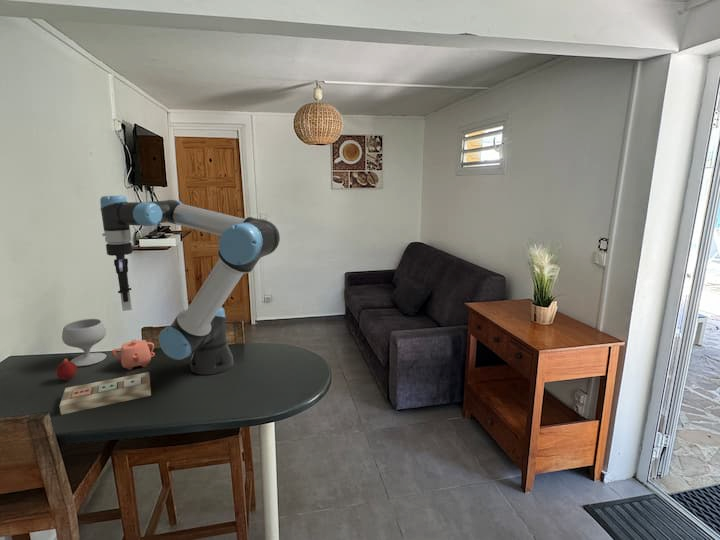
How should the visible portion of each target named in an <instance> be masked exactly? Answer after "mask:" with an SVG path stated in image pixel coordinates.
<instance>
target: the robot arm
mask: <svg viewBox="0 0 720 540" xmlns="http://www.w3.org/2000/svg"><path fill="white" fill-rule="evenodd" d="M99 199H100V200H99V201H100V202H99V203H100V212H101V219H102V225H103V233H102V234H101V235H102V236H103V237H104V241H105V242H106V244H105V249H106V255H107V256H112V257H114V256H115V258H116V259H114V260H113V263H114V268H115V273H116V274H117V280H118V286H119V290H118V291H117V293H118V294H119V295H120V301H121V308H122V312H125V311H126V312H127V311H132V310H133V309H132V300H131V294H130V293H131V291H132V287H130V284H129V277H128V272H129V267H128V265H129V260H128V259H129V258H126V256H127V255H131V254H133V245H132V244H133V243H132V242H131V241H132V234H131V228H130V227H131V226H137V227H138V226H139V227H140V226H141V227H153V226H154V227H155V226H157V225H159V224H165V223H170V224H172V225H176V226H177V225H178V226H181V227H184V228H189V229H193V230H198V231H199V232H200V231H201V232H204V233H205V232H206V233H209V234H213V235H217V236H220V237H219V239H218V246H219V249H218V251H217V256H218V257H217V258H219V259H218V260H217V262H216V264H214V266H213V268H212V269H211V271H210V273H209V275H207V277H206V279H205V280H204V282H203V284H202V285H201V286H200V289H199V290H198V291H197V293H196V295H195V297H194V298H193V299H192V301H191V303H189V305H188V307H187V309H184V310H181V311H180V312H179V313H178V314H177V315H176V317H175V319H174V320H173V321H172V323H171V324H170V325H169V326H166V327H164V328H163V329H162V330H161V331H160V333H159V335H158V343H159V345H160V349H161V350H162V352H163V353H164V354H165V355H166V356H167V357H168V358H170V359H173V360H174V361H175V360H178V361H179V360H184V359H186V358H189V357H190V356H191V355H192V356H191V360H190V369H191V370H190V371H191V372H192V373H194V374H196V375H204V376H205V375H214V374H215V375H216V374H219V373H222V372H225V371H227V370H229V369H231V368H232V367H233V366H234V356H233V354H232V351H231V349H230V347H229V345H228V337H227V323H226V312H225V309H224V307H222V306H223V305H224V304H225V302H226V301H227V299H228V297H230V294H231V293H232V292H233V290H234V289H235V287H236V285H237V284H238V283H239V281H240V280H241V278H242V277H243V275H244V274H249V273H251V272H252V270H253V269H254V268H255V267H256V265H257V264H258V262H259V261H260V259H261V258H263V257H266V256H268V255H270V254H273V252H275V251H276V249H277V248H278V246H279V244H280V240H281V239H280V231H279V229H278V228H277V227H276V225H275V224H273V222H271V221H269V220H266V219H260V218H255V217H251V216H247V217H245V218H242V217H237V216H234V215H230V214H225V213H221V212H218V211H213V210H209V209H205V208H201V207H196V206H193V205H187V204H184V203H182V202H181V201H180V200H177V199H168V200H156V201H154V200H153V201H139V202H138V201H136V202H135V201H134V202H133V201H130V202H129V201H128V200H127V197H126V196H125V195H103V196H101V197H100V198H99ZM125 255H126V256H125Z"/></svg>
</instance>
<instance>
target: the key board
mask: <svg viewBox="0 0 720 540" xmlns="http://www.w3.org/2000/svg"><path fill="white" fill-rule="evenodd" d="M139 377H141V382H142V384H141V385H136V386H131V387H127V388H124V380H128V379H134V378H139ZM113 382H117V385H118V389H117V390H112V391H107V392H102V393H98V389H99V385H103V384H108V383H113ZM88 387H92V390H93V391H92V395H87V396H82V397H77V398H72V399H71V396H72V393H73V390H77V389H82V388H88ZM151 389H152V387H151V378H150V372H149V371H148V372H141V373H138V374H132V375H126V376H122V377H117V378H111V379H105V380H102V381H101V380H100V381H95V382H90V383H85V384H80V385H74V386H69V387H65V389H64V391H63V395H62V397H61V400H60V404H59V411H60V415H61V416H62V415H66V414H71V413H77V412H81V411H86V410H89V409H90V410H91V409H95V408H99V407H105V406H108V405H113V404H118V403H123V402H127V401H131V400H136V399H140V398H141V399H142V398H145V397H150V396H152V391H151Z"/></svg>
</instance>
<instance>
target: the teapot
mask: <svg viewBox="0 0 720 540" xmlns="http://www.w3.org/2000/svg"><path fill="white" fill-rule="evenodd" d="M149 345H151V349H150V347H149ZM154 349H155V344H154V343H153V342H151V341H150V342H149V341H147V339H141V340H137V339H132V340H130V342H125V343H122V345H121V347H118V348H113V349H112V350H111V354H112V355H113V356H114V357H116V358H118V359H119V360H120V363H121V366H122V368H123V369H126V370H127V371H130V370H133V369H134V368H135V367H139V366H141V367H142V368H146V367H148V364H150V363H151V360H152V358H153V357H155V356H156V354H155V352H154ZM118 351H120V355H119V354H118V353H117V352H118Z"/></svg>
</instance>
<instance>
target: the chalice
mask: <svg viewBox="0 0 720 540" xmlns="http://www.w3.org/2000/svg"><path fill="white" fill-rule="evenodd" d="M106 335H107V331H106V327H105V325H104V323H103V321H102V320H101V319H97V318H86V319H85V318H83V319H79V320H75V321H72V322H68V323H67V324H65V325H64V327H63V330H62V332H61V339H62V342H63V344H65V345H67V346H68V347H72V348H78V349H81V350H82V351H83V352H84V354H82V355H79V356H76V357H73V359H71V360H70V361H71V362H73V363H74V364H75V365H76V366H77V367H85V366H90V365H95V364H98V363H100V362H102V361H104V360H105V359H106V358H107V354H106V353H104V352H91V349H92V348H93V346H95V345H97V344H98V343H99V342H101V341H102V340H103V339H104V338H105V336H106Z"/></svg>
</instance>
